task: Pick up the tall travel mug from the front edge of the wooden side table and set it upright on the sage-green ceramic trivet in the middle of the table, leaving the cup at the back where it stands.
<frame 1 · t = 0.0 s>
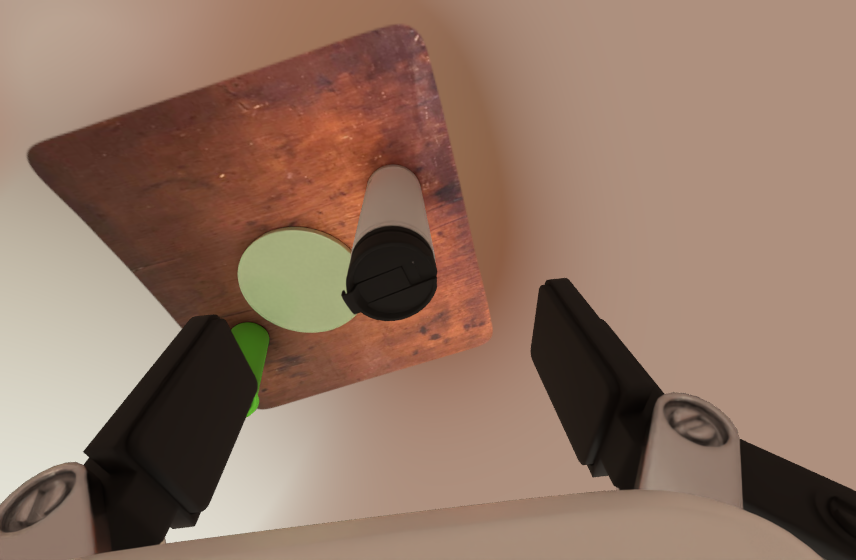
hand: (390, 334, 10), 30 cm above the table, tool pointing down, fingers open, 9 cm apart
travel mug: (392, 191, 39), on the table
trivet: (305, 282, 44), on the table
cup: (251, 334, 48), on the table
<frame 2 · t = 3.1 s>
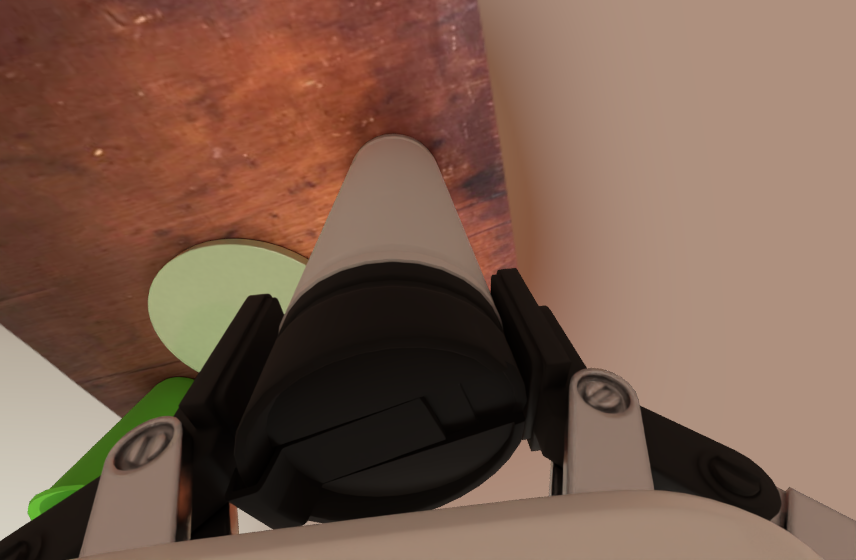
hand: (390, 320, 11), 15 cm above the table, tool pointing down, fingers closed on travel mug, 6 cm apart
travel mug: (393, 181, 23), on the table, touching gripper
trivet: (259, 321, 29), on the table
cup: (187, 392, 33), on the table
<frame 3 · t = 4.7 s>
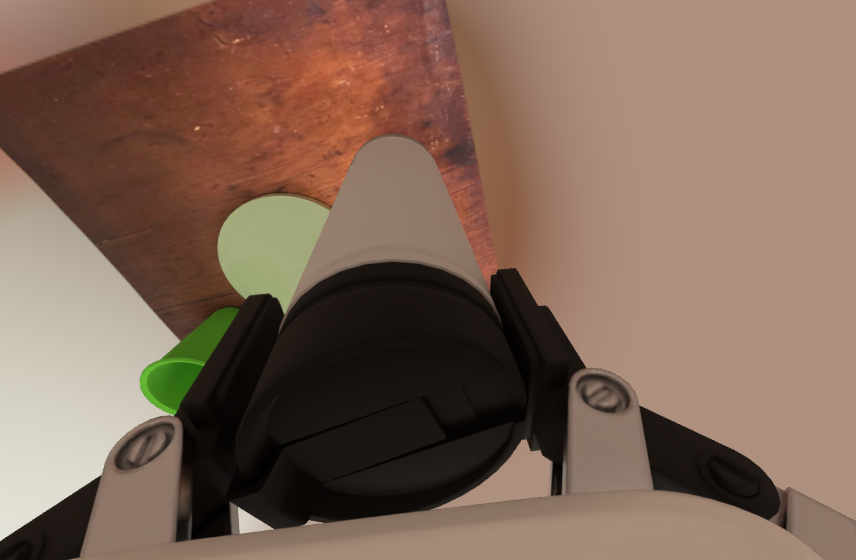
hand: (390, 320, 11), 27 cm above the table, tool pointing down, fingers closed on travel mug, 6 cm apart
travel mug: (392, 181, 23), point 11 cm above the table, touching gripper
trivet: (296, 260, 39), on the table
cup: (235, 321, 43), on the table
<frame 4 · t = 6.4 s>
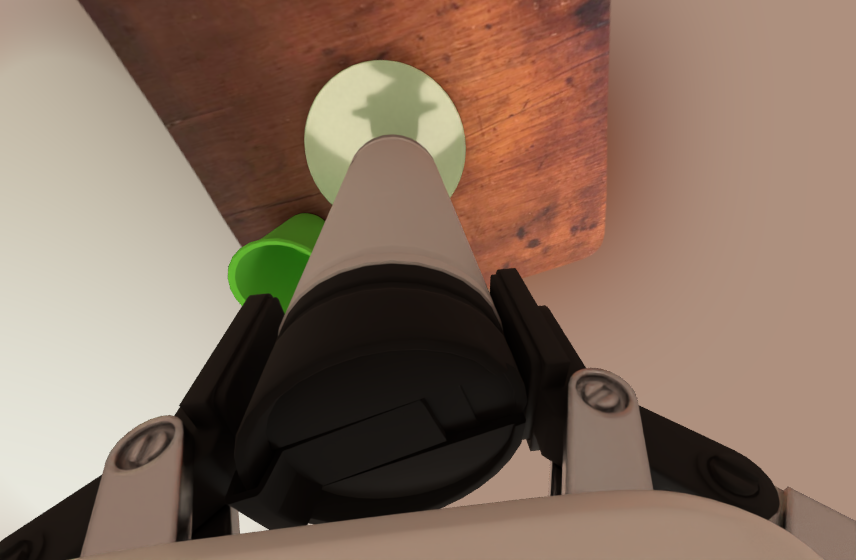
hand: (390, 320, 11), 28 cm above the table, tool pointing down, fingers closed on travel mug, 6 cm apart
travel mug: (391, 181, 23), point 12 cm above the table, touching gripper
trivet: (387, 153, 34), on the table
cup: (310, 232, 38), on the table
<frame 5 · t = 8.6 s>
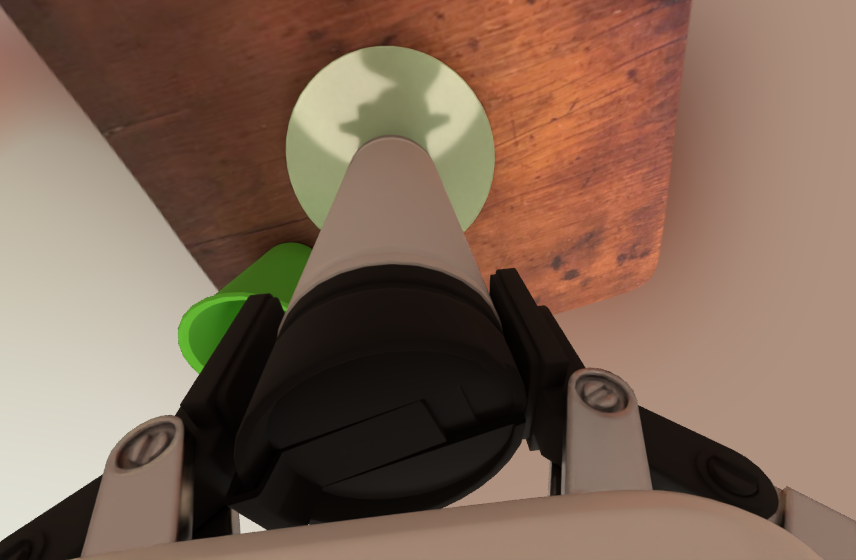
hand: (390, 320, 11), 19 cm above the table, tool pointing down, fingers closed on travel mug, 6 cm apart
travel mug: (390, 182, 23), point 4 cm above the table, touching gripper
trivet: (393, 167, 27), on the table
cup: (297, 264, 31), on the table
when the fingers open (16 cm above the table, at t = 10.1 s): travel mug stays where it is, resting on trivet.
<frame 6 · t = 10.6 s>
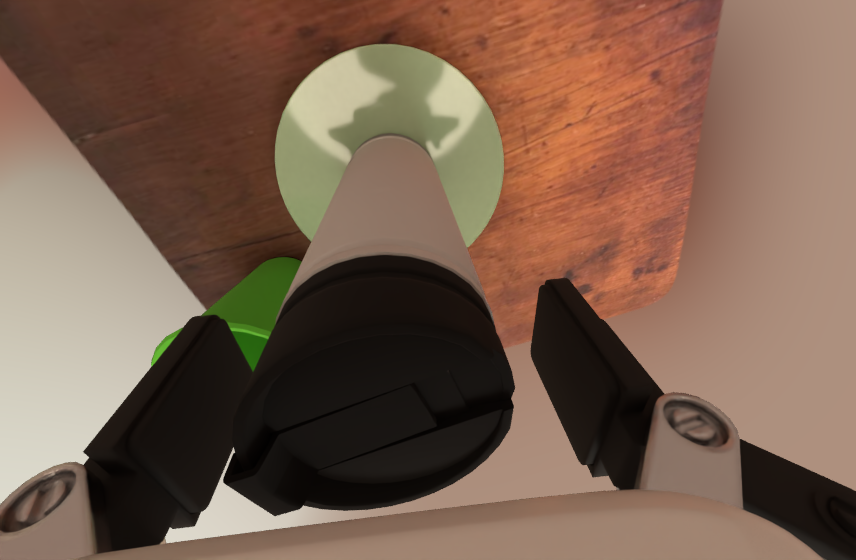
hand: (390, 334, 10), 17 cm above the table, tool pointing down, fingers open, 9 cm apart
travel mug: (390, 180, 24), point 1 cm above the table, touching trivet
trivet: (393, 177, 24), on the table
cup: (289, 280, 29), on the table
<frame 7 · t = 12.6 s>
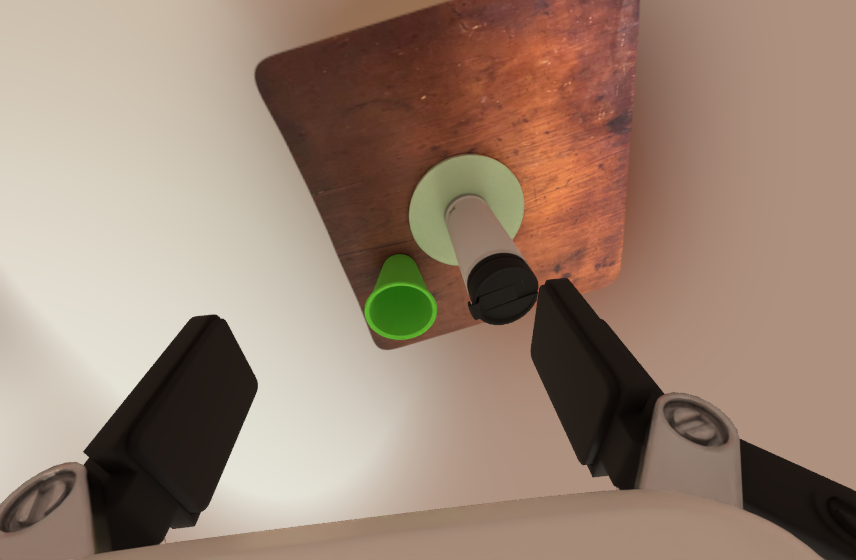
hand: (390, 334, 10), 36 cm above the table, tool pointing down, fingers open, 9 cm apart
travel mug: (465, 215, 46), point 1 cm above the table, touching trivet
trivet: (465, 213, 47), on the table
cup: (399, 267, 51), on the table
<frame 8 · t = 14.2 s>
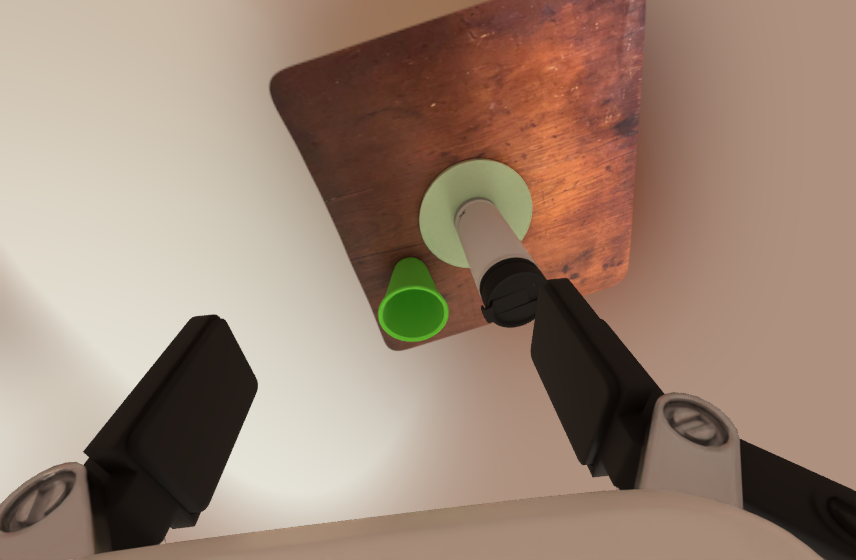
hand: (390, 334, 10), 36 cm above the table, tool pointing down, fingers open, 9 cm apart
travel mug: (474, 218, 47), point 1 cm above the table, touching trivet
trivet: (474, 216, 47), on the table
cup: (410, 270, 52), on the table
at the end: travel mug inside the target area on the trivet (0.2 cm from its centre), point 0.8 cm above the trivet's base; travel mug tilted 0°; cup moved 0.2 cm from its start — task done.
